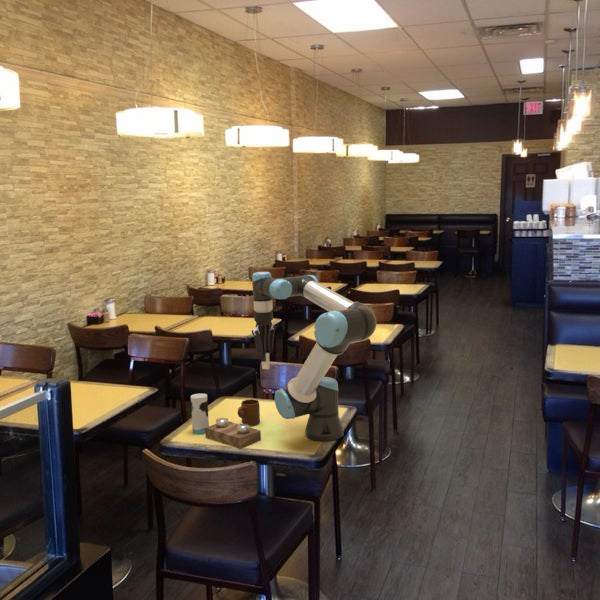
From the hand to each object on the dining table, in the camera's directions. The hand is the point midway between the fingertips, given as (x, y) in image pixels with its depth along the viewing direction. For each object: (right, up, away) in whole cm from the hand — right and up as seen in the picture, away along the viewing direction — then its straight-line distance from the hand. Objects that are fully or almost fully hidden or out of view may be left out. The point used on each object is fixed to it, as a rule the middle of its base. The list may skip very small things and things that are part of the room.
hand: (265, 368), depth 269 cm
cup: (-27, -26, +4) cm, 38 cm away
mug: (-8, -25, +10) cm, 28 cm away
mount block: (-13, -27, -6) cm, 30 cm away
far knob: (-17, -25, -2) cm, 31 cm away
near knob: (-8, -26, -10) cm, 29 cm away
